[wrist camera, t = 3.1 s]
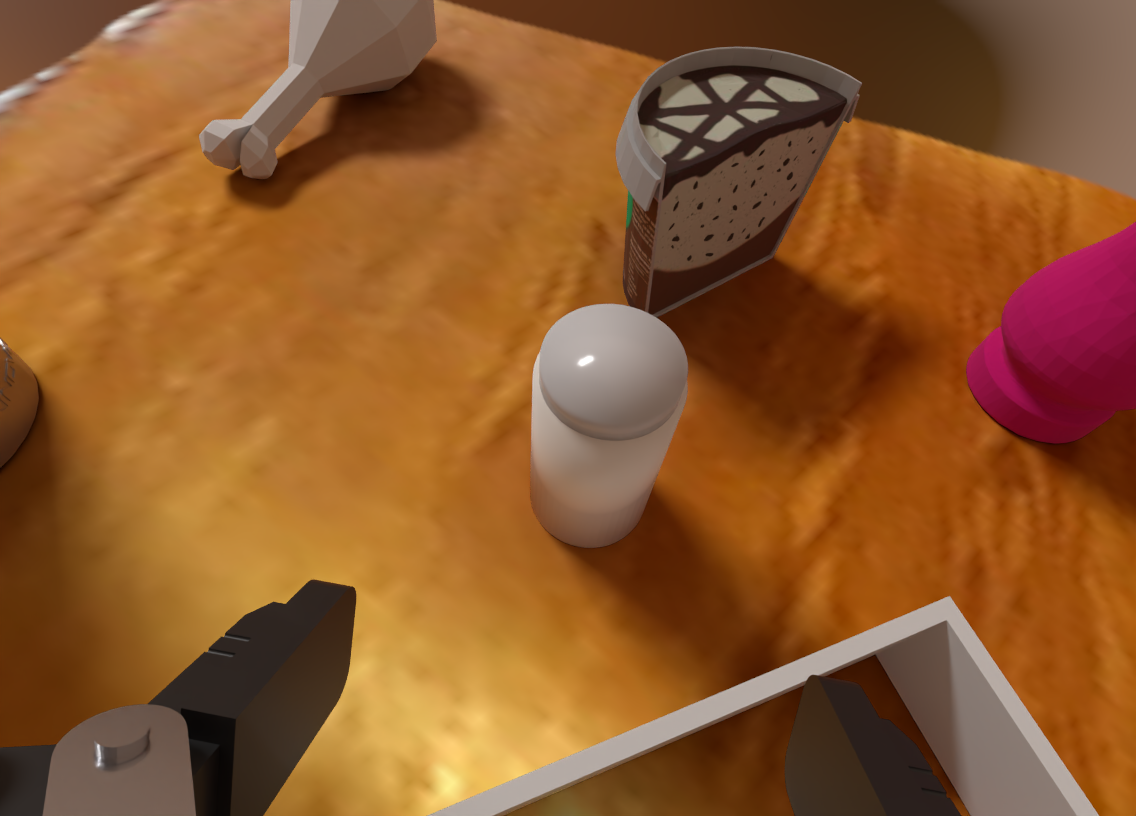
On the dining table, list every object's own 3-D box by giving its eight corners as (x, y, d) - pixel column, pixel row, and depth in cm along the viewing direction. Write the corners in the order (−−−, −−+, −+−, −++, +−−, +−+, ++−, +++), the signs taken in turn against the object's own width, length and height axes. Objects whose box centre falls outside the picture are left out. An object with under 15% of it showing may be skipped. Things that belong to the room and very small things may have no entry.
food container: (720, 187, 40) (773, 15, 31) (791, 248, 37) (870, 79, 29) (552, 261, 35) (562, 86, 27) (620, 336, 33) (653, 168, 24)
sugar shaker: (553, 564, 26) (566, 450, 18) (514, 460, 29) (511, 319, 21) (664, 526, 27) (723, 403, 19) (618, 429, 30) (653, 285, 22)
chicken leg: (175, 163, 39) (134, 71, 31) (346, -18, 45) (347, -133, 37) (299, 243, 41) (290, 175, 33) (449, 58, 47) (471, -37, 39)
